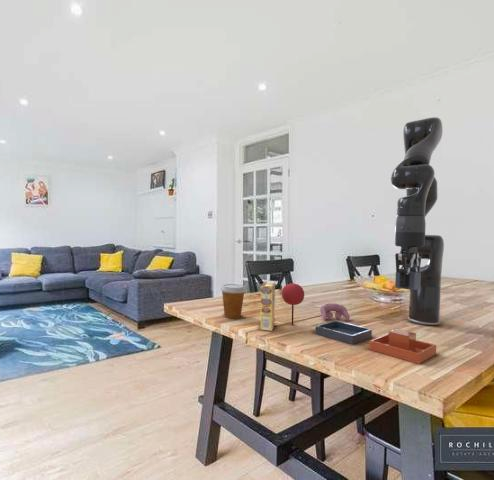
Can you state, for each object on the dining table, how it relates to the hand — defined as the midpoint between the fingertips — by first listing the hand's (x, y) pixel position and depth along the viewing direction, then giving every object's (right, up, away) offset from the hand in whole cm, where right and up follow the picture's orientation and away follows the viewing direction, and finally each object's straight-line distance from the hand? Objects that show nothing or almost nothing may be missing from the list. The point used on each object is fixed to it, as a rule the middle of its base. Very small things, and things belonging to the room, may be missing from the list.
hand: (407, 286), depth 101 cm
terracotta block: (-7, -17, -7) cm, 20 cm away
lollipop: (-29, -17, +18) cm, 38 cm away
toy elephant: (-10, -17, +27) cm, 33 cm away
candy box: (-39, -17, +15) cm, 45 cm away
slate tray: (-16, -17, +7) cm, 25 cm away
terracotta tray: (-7, -18, -7) cm, 20 cm away
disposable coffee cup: (-49, -16, +29) cm, 59 cm away
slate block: (0, -1, 0) cm, 1 cm away
